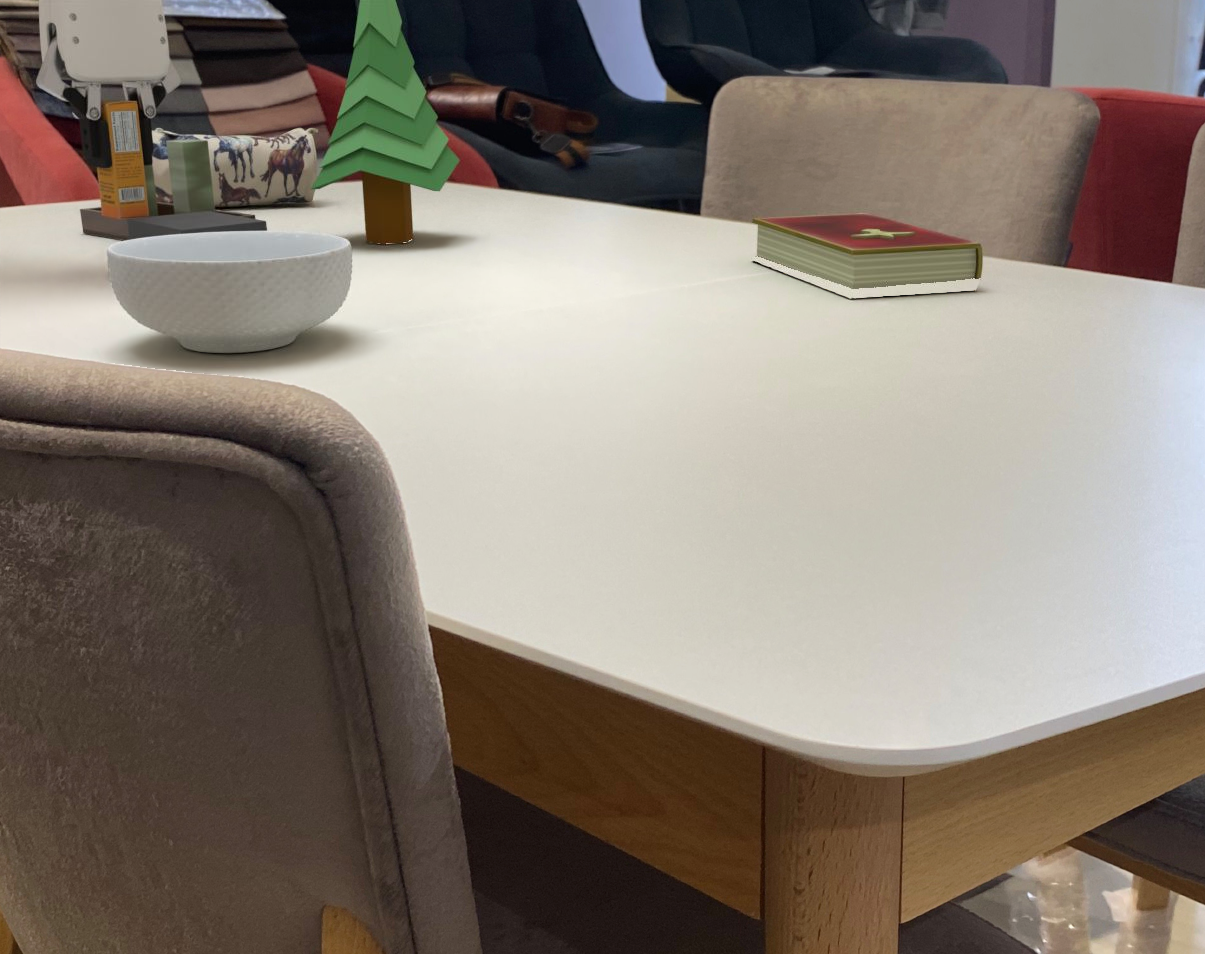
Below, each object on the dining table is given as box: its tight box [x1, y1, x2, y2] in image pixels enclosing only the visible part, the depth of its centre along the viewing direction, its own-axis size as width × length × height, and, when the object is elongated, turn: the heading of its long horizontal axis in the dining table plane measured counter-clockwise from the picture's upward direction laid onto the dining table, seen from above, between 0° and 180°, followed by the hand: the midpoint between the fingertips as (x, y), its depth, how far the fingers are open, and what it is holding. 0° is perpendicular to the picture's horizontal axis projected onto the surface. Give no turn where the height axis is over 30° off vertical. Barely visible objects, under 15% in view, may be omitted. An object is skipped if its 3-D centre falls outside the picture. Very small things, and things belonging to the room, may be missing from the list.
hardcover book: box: [751, 212, 984, 289], centre depth 128 cm, size 12×21×4 cm, turn 17°
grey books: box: [127, 211, 268, 240], centre depth 127 cm, size 10×11×5 cm
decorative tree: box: [310, 0, 461, 245], centre depth 145 cm, size 14×16×30 cm
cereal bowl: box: [106, 230, 353, 354], centre depth 102 cm, size 17×17×7 cm
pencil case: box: [152, 127, 319, 208], centre depth 177 cm, size 22×8×10 cm, turn 106°
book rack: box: [79, 139, 256, 241], centre depth 153 cm, size 9×19×10 cm, turn 48°
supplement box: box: [96, 98, 149, 219], centre depth 129 cm, size 3×3×10 cm
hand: (120, 163), depth 129 cm, fingers closed on supplement box, 3 cm apart
